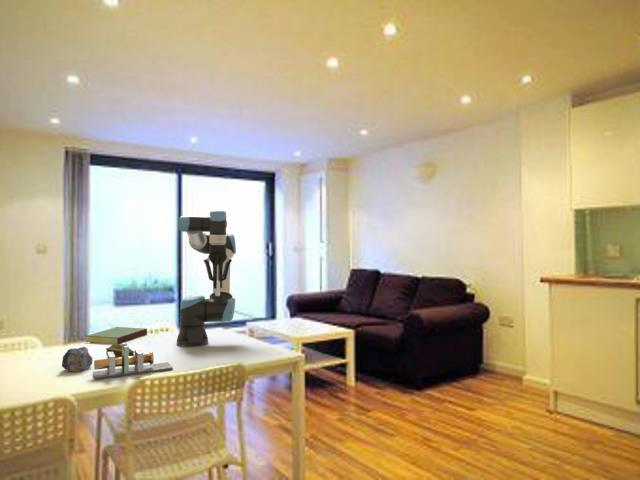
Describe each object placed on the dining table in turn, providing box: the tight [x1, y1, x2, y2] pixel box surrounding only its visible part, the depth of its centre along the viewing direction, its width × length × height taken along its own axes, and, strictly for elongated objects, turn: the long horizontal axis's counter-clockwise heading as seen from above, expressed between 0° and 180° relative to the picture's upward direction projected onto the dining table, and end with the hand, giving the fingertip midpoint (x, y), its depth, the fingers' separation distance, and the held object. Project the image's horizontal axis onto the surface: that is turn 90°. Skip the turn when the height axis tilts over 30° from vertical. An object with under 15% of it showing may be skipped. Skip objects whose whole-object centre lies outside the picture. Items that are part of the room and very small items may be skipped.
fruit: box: [105, 344, 135, 358], centre depth 198 cm, size 11×12×7 cm
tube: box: [93, 351, 155, 371], centre depth 178 cm, size 5×21×5 cm, turn 120°
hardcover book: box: [86, 326, 148, 345], centre depth 242 cm, size 25×19×4 cm
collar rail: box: [92, 342, 173, 381], centre depth 180 cm, size 9×28×11 cm, turn 120°
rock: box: [61, 346, 93, 373], centre depth 183 cm, size 11×10×10 cm
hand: (217, 295), depth 211 cm, fingers closed
